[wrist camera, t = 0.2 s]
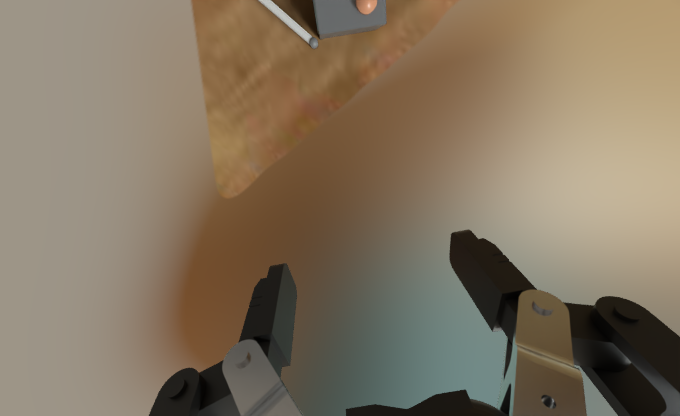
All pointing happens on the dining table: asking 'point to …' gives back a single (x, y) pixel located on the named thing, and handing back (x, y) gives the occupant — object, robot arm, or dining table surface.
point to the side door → (290, 23)
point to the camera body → (348, 16)
